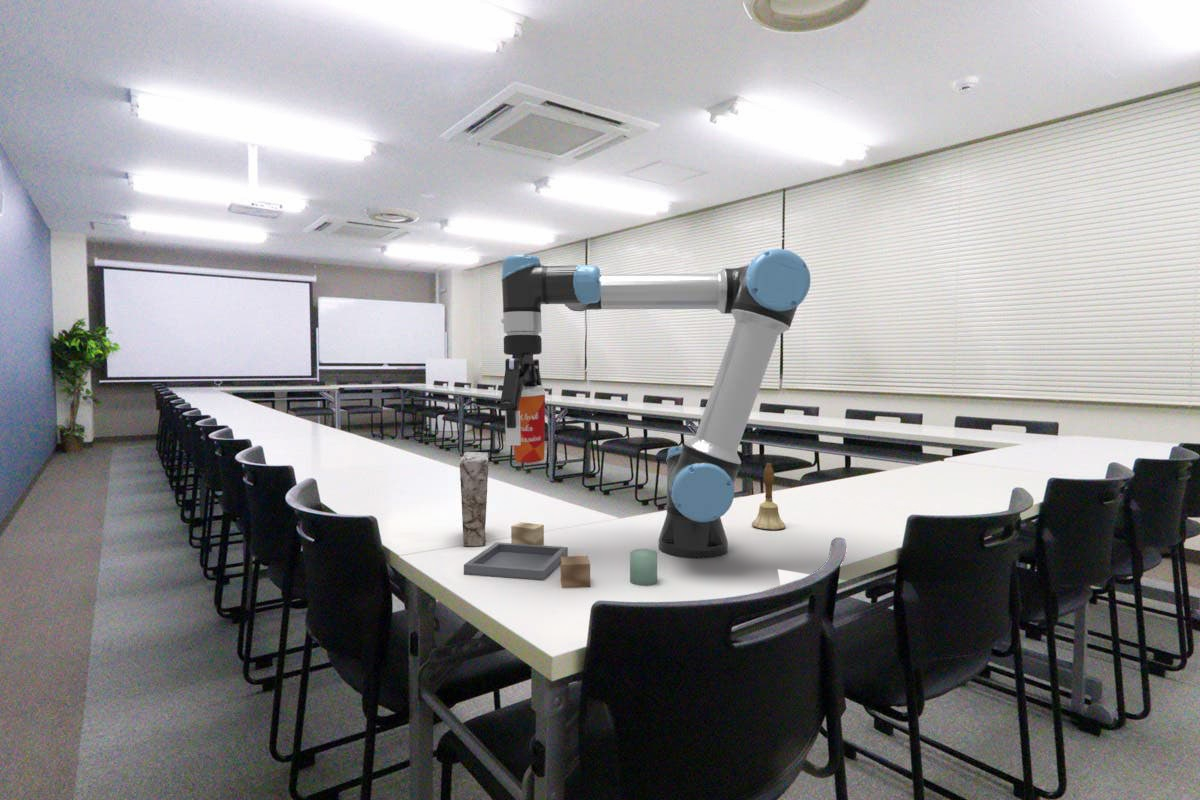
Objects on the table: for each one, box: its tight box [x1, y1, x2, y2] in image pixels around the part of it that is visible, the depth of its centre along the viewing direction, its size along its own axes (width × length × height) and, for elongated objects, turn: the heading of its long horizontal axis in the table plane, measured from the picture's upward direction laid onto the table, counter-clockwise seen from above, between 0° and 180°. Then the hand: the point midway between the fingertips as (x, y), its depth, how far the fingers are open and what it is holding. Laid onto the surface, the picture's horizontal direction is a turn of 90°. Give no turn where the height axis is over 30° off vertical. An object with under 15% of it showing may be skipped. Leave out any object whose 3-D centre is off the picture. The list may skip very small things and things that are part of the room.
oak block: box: [510, 522, 545, 546], centre depth 140 cm, size 6×4×5 cm, turn 67°
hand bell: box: [751, 462, 786, 531], centre depth 160 cm, size 8×8×16 cm
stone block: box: [459, 451, 489, 547], centre depth 146 cm, size 13×7×20 cm, turn 15°
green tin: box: [629, 548, 658, 587], centre depth 116 cm, size 5×5×6 cm
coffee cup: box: [512, 385, 548, 464], centre depth 129 cm, size 8×8×15 cm
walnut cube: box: [560, 555, 591, 589], centre depth 115 cm, size 5×5×5 cm
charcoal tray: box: [463, 541, 569, 582], centre depth 126 cm, size 16×16×2 cm
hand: (524, 441), depth 126 cm, fingers open, 13 cm apart
